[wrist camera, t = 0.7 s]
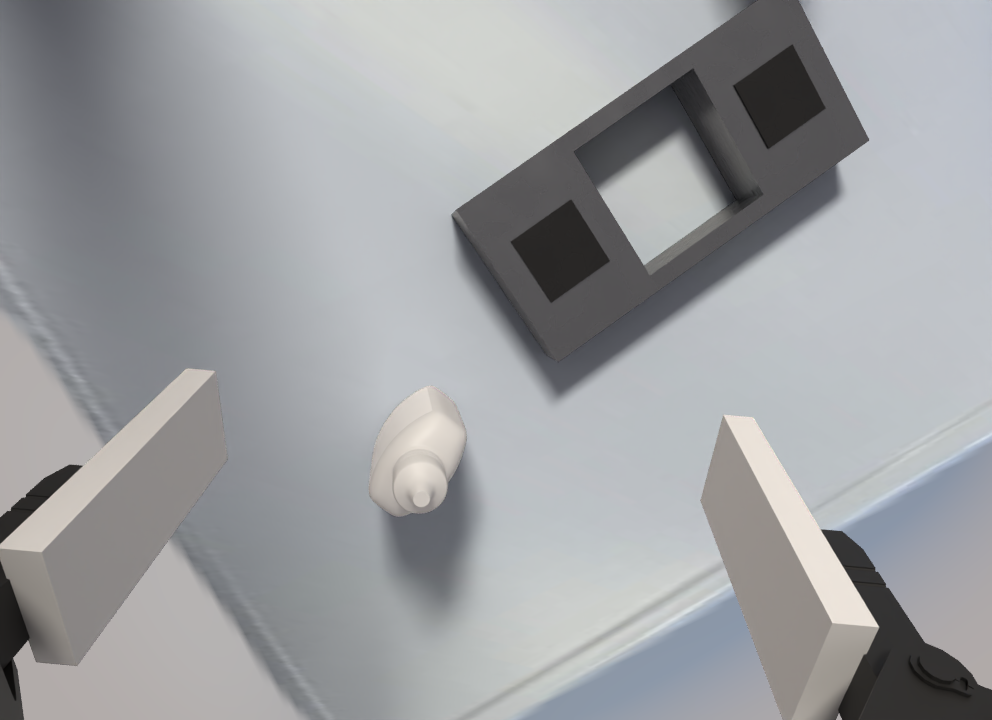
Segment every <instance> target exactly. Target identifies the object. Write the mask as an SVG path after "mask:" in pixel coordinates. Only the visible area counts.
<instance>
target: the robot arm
mask: <svg viewBox="0 0 992 720" xmlns="http://www.w3.org/2000/svg"><path fill="white" fill-rule="evenodd" d="M227 459H228V457H227V450H226V442H225V435H224V428H223V420H222V413H221V405H220V398H219V390H218V383H217V375H216V371H211V370H200V369H188V368H186V369H185V370H184V371H183V372H182V373H181V374H180V375H179V376H178V377H177V378H176V379H175V380H174V381H173V382H172V383H171V384H169V385H168V386H167V387H166V388H165V389H164V390H163V391H162V392H161V393H160V394H159V395H158V396H157V397H156V398H155V399H154V400H152V401H151V402H150V403H149V404H148V405H147V406H146V407H145V408H144V409H143V410H142V411H141V412H140V413H139V414H138V415H137V416H136V417H134V418H133V419H132V420H131V421H130V422H129V423H128V424H127V425H126V426H125V427H124V428H123V429H122V430H121V431H120V432H119V433H118V434H116V435H115V436H114V437H113V438H112V439H111V440H110V441H109V442H108V443H107V444H106V445H105V446H104V447H103V448H102V449H101V450H100V451H98V452H97V453H96V454H95V455H94V456H93V457H92V458H91V459H90V460H89V461H88V462H87V463H86V464H85V465H84V466H79V465H68V466H66V467H64V468H63V469H61V470H59V471H57V472H55V473H53V474H51V475H49V476H47V477H46V478H44V479H43V480H42V481H41V482H39V483H38V484H37V485H36V486H35V487H34V488H33V489H32V490H30V492H28V493H27V494H26V497H25V498H21V499H20V500H19V501H18V502H17V503H16V504H15V505H14V506H13V507H12V508H11V511H7V512H6V513H5V514H4V515H3V516H1V517H0V720H24V717H23V709H22V701H21V693H20V686H19V679H18V671H17V668H16V665H15V662H14V660H13V657H14V656H15V655H16V654H17V652H18V651H19V650H20V649H21V648H22V647H23V645H24V644H25V643H26V642H27V640H28V641H29V643H30V646H31V649H32V652H33V655H34V658H35V660H36V662H40V663H51V664H62V665H74V666H77V665H78V664H79V663H80V661H81V660H82V658H83V657H84V656H85V654H86V653H87V652H88V650H89V649H90V647H91V646H92V644H93V643H94V642H95V641H96V639H97V638H98V636H99V635H100V634H101V632H102V631H103V629H104V628H105V627H106V625H107V624H108V623H109V621H110V620H111V619H112V617H113V616H114V614H115V613H116V612H117V610H118V609H119V608H120V606H121V605H122V604H123V602H124V600H125V599H126V598H127V597H128V595H129V594H130V593H131V591H132V590H133V588H134V587H135V586H136V584H137V583H138V582H139V580H140V578H141V577H142V576H143V575H144V573H145V572H146V571H147V569H148V568H149V566H150V565H151V564H152V562H153V561H154V560H155V558H156V556H157V555H158V554H159V553H160V551H161V550H162V549H163V547H164V546H165V544H166V543H167V542H168V540H169V539H170V538H171V536H172V535H173V534H174V532H175V531H176V529H177V528H178V527H179V525H180V524H181V523H182V521H183V520H184V518H185V517H186V516H187V514H188V513H189V512H190V510H191V509H192V507H193V506H194V505H195V503H196V502H197V501H198V499H199V498H200V496H201V495H202V494H203V492H204V491H205V490H206V488H207V487H208V485H209V484H210V483H211V481H212V480H213V479H214V477H215V476H216V474H217V473H218V472H219V470H220V469H221V468H222V466H223V465H224V463H225V462H226V461H227ZM700 501H701V503H702V506H703V509H704V511H705V514H706V517H707V519H708V522H709V525H710V527H711V530H712V533H713V535H714V538H715V541H716V543H717V546H718V549H719V551H720V554H721V557H722V559H723V562H724V565H725V567H726V570H727V573H728V575H729V578H730V581H731V583H732V586H733V589H734V591H735V594H736V597H737V599H738V602H739V605H740V607H741V610H742V613H743V615H744V618H745V621H746V623H747V626H748V629H749V631H750V634H751V636H752V639H753V642H754V644H755V647H756V650H757V652H758V655H759V658H760V661H761V663H762V666H763V669H764V671H765V674H766V676H767V679H768V682H769V684H770V687H771V690H772V692H773V695H774V698H775V700H776V703H777V706H778V708H779V711H780V714H781V716H782V719H783V720H836V718H837V716H838V714H839V713H840V716H841V718H842V720H992V690H991V689H988V688H985V687H982V686H980V685H978V684H977V682H976V681H975V679H974V677H973V675H972V674H971V673H970V672H969V671H968V670H967V669H966V668H965V667H964V666H963V665H962V664H961V663H960V662H959V661H958V660H956V659H955V658H953V657H952V656H950V655H949V654H947V653H946V652H944V651H943V650H941V649H938V648H936V647H933V646H931V645H929V644H926V643H925V642H924V641H923V639H922V638H921V636H920V635H919V633H918V632H917V631H916V629H915V627H914V626H913V624H912V623H911V621H910V620H909V618H908V617H907V615H906V614H905V612H904V611H903V609H902V608H901V606H900V605H899V603H898V602H897V600H896V599H895V597H894V595H893V594H892V593H891V591H890V589H889V588H886V583H885V582H884V580H883V579H882V577H881V576H880V574H879V573H878V572H876V571H875V567H874V565H873V564H872V562H871V561H870V559H869V558H868V556H867V555H866V553H865V552H864V550H863V549H862V548H861V547H860V546H859V545H857V544H856V543H855V542H854V541H853V540H852V539H850V538H849V537H848V536H847V535H846V534H845V533H843V532H842V531H833V530H822V529H820V528H819V526H818V525H817V523H816V521H815V520H814V518H813V516H812V515H811V513H810V511H809V510H808V508H807V506H806V505H805V503H804V501H803V500H802V498H801V496H800V495H799V493H798V491H797V490H796V488H795V486H794V485H793V483H792V481H791V480H790V478H789V476H788V475H787V473H786V471H785V470H784V468H783V466H782V465H781V463H780V461H779V460H778V458H777V456H776V455H775V453H774V451H773V450H772V448H771V446H770V445H769V443H768V441H767V440H766V438H765V436H764V435H763V433H762V431H761V430H760V428H759V426H758V425H757V423H756V421H755V420H754V418H753V417H742V416H730V415H723V418H722V422H721V425H720V429H719V433H718V437H717V440H716V444H715V448H714V452H713V455H712V459H711V463H710V467H709V470H708V474H707V478H706V482H705V485H704V489H703V493H702V497H701V500H700Z"/></svg>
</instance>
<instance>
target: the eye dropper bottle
mask: <svg viewBox="0 0 992 720" xmlns="http://www.w3.org/2000/svg"><path fill="white" fill-rule="evenodd" d="M466 440H467V434H466V429H465V426H464V423H463V421H462V418H461V416H460V413H459V411H458V409H457V406H456V404H455V403H454V401H453V400H452V399H450V398H449V397H448V396H447V395H445V394H444V393H443V392H441V391H440V390H439V389H437V388H436V387H433V386H426V387H424V388H422V389H420V390H418V391H416V392H415V393H413V394H411V395H410V396H409V397H407V398H406V399H405V400H404V401H402V402H401V403H400V404H399V405H398V406H397V407H396V408H395V409H394V410H393V412H392V413H391V414H390V415H389V417H388V418H387V420H386V421H385V423H384V425H383V426H382V428H381V430H380V432H379V435H378V437H377V440H376V443H375V446H374V450H373V456H372V463H371V470H370V478H369V495H370V498H371V499H372V500H373V502H375V503H376V504H377V505H378V506H380V507H381V508H382V509H384V510H385V511H387V512H388V513H390V514H391V515H393V516H396V517H402V516H406V515H408V514H410V513H416V514H418V513H419V514H421V513H422V514H423V513H426V512H429V511H430V512H431V511H432V510H434V509H436V507H438V506H439V505H440V504H441V503H442V501H444V499H445V496H446V493H447V490H448V482H449V481H450V479H451V478H452V476H453V475H454V473H455V471H456V469H457V467H458V465H459V463H460V461H461V458H462V455H463V452H464V449H465V445H466Z"/></svg>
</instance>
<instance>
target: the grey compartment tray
mask: <svg viewBox="0 0 992 720" xmlns="http://www.w3.org/2000/svg"><path fill="white" fill-rule="evenodd" d="M670 84H671V86H672V88H673V89H674V91H675V93H676V95H677V96H678V98H679V100H680V102H681V103H682V105H683V107H684V109H685V110H686V112H687V114H688V116H689V117H690V119H691V121H692V123H693V124H694V126H695V128H696V130H697V131H698V133H699V135H700V137H701V138H702V140H703V142H704V144H705V146H706V147H707V149H708V151H709V153H710V154H711V156H712V158H713V160H714V161H715V163H716V165H717V167H718V168H719V170H720V172H721V174H722V175H723V177H724V179H725V181H726V182H727V184H728V186H729V188H730V189H731V191H732V193H733V195H734V197H735V198H736V201H734V202H733V203H732V204H730V205H729V206H727V207H726V208H725V209H723V210H722V211H720V212H719V213H718V214H716V215H715V216H713V217H712V218H710V219H709V220H708V221H706V222H705V223H703V224H702V225H701V226H699V227H698V228H696V229H695V230H694V231H692V232H691V233H689V234H688V235H687V236H685V237H684V238H682V239H681V240H680V241H678V242H677V243H675V244H674V245H672V246H671V247H670V248H668V249H667V250H665V251H664V252H663V253H661V254H660V255H658V256H657V257H656V258H654V259H653V260H651V261H650V262H649V263H647V264H646V265H643V264H642V262H641V260H640V259H639V257H638V255H637V254H636V252H635V251H634V249H633V247H632V246H631V244H630V242H629V241H628V239H627V238H626V236H625V234H624V233H623V231H622V229H621V228H620V226H619V225H618V223H617V221H616V220H615V218H614V217H613V215H612V213H611V212H610V210H609V208H608V207H607V205H606V204H605V202H604V200H603V199H602V197H601V195H600V194H599V192H598V191H597V189H596V187H595V186H594V184H593V182H592V181H591V179H590V178H589V176H588V174H587V173H586V171H585V170H584V168H583V166H582V165H581V163H580V161H579V160H578V158H577V157H576V155H575V153H574V151H575V150H577V149H578V148H579V147H581V146H582V145H584V144H585V143H587V142H588V141H589V140H591V139H592V138H594V137H595V136H597V135H598V134H599V133H601V132H602V131H604V130H605V129H607V128H608V127H609V126H611V125H612V124H614V123H615V122H617V121H618V120H620V119H621V118H622V117H624V116H625V115H627V114H628V113H630V112H631V111H632V110H634V109H635V108H637V107H638V106H640V105H641V104H642V103H644V102H645V101H647V100H648V99H650V98H651V97H653V96H654V95H655V94H657V93H658V92H660V91H661V90H663V89H664V88H665V87H667V86H668V85H670ZM868 141H869V138H868V136H867V134H866V132H865V130H864V129H863V127H862V125H861V123H860V121H859V119H858V117H857V115H856V113H855V111H854V109H853V107H852V105H851V103H850V101H849V99H848V97H847V95H846V93H845V91H844V89H843V87H842V85H841V83H840V81H839V79H838V77H837V75H836V74H835V72H834V70H833V68H832V66H831V64H830V62H829V60H828V58H827V56H826V54H825V52H824V50H823V48H822V46H821V44H820V42H819V40H818V38H817V36H816V34H815V32H814V30H813V28H812V26H811V24H810V22H809V21H808V19H807V17H806V15H805V13H804V11H803V9H802V7H801V5H800V3H799V1H798V0H757V1H756V2H754V3H753V4H752V5H750V6H749V7H747V8H746V9H744V10H743V11H741V12H740V13H739V14H737V15H736V16H734V17H733V18H731V19H730V20H729V21H727V22H726V23H724V24H723V25H721V26H720V27H718V28H717V29H716V30H714V31H713V32H711V33H710V34H708V35H707V36H706V37H704V38H703V39H701V40H700V41H698V42H697V43H695V44H694V45H693V46H691V47H690V48H688V49H687V50H685V51H684V52H682V53H681V54H680V55H678V56H677V57H675V58H674V59H672V60H671V61H670V62H668V63H667V64H665V65H664V66H662V67H661V68H659V69H658V70H657V71H655V72H654V73H652V74H651V75H649V76H648V77H647V78H645V79H644V80H642V81H641V82H639V83H638V84H636V85H635V86H634V87H632V88H631V89H629V90H628V91H626V92H625V93H624V94H622V95H621V96H619V97H618V98H616V99H615V100H613V101H612V102H611V103H609V104H608V105H606V106H605V107H603V108H602V109H601V110H599V111H598V112H596V113H595V114H593V115H592V116H590V117H589V118H588V119H586V120H585V121H583V122H582V123H580V124H579V125H578V126H576V127H575V128H573V129H572V130H570V131H569V132H567V133H566V134H565V135H563V136H562V137H560V138H559V139H557V140H556V141H555V142H553V143H552V144H550V145H549V146H547V147H546V148H544V149H543V150H542V151H540V152H539V153H537V154H536V155H534V156H533V157H532V158H530V159H529V160H527V161H526V162H524V163H523V164H521V165H520V166H519V167H517V168H516V169H514V170H513V171H511V172H510V173H508V174H507V175H506V176H504V177H503V178H501V179H500V180H498V181H497V182H496V183H494V184H493V185H491V186H490V187H488V188H487V189H485V190H484V191H483V192H481V193H480V194H478V195H477V196H475V197H474V198H473V199H471V200H470V201H468V202H467V203H465V204H464V205H462V206H461V207H460V208H458V209H457V210H456V211H455V212H453V213H452V214H451V215H452V216H453V218H454V219H455V221H456V222H457V224H458V225H459V227H460V228H461V230H462V231H463V233H464V234H465V235H466V237H467V238H468V240H469V241H470V243H471V244H472V246H473V247H474V249H475V250H476V252H477V253H478V255H479V256H480V258H481V259H482V261H483V262H484V264H485V265H486V267H487V268H488V269H489V271H490V272H491V274H492V275H493V277H494V278H495V280H496V281H497V283H498V284H499V286H500V287H501V289H502V290H503V292H504V293H505V295H506V296H507V298H508V299H509V301H510V302H511V304H512V305H513V306H514V308H515V309H516V311H517V312H518V314H519V315H520V317H521V318H522V320H523V321H524V323H525V324H526V326H527V327H528V329H529V330H530V332H531V333H532V335H533V336H534V338H535V339H536V340H537V342H538V343H539V345H540V346H541V348H542V349H543V351H544V352H545V354H546V355H547V356H549V357H551V358H552V359H554V360H556V361H557V362H559V361H560V360H562V359H563V358H565V357H566V356H568V355H569V354H570V353H572V352H573V351H575V350H576V349H577V348H579V347H580V346H582V345H583V344H584V343H586V342H587V341H589V340H590V339H591V338H593V337H594V336H596V335H597V334H598V333H600V332H601V331H603V330H604V329H605V328H607V327H608V326H610V325H611V324H612V323H614V322H615V321H617V320H618V319H619V318H621V317H622V316H624V315H625V314H626V313H628V312H629V311H631V310H632V309H633V308H635V307H636V306H638V305H639V304H640V303H642V302H643V301H645V300H646V299H647V298H649V297H650V296H652V295H653V294H654V293H656V292H657V291H659V290H660V289H661V288H663V287H664V286H666V285H667V284H668V283H670V282H671V281H673V280H674V279H676V278H677V277H678V276H680V275H681V274H683V273H684V272H685V271H687V270H688V269H690V268H691V267H692V266H694V265H695V264H697V263H698V262H699V261H701V260H702V259H704V258H705V257H706V256H708V255H709V254H711V253H712V252H713V251H715V250H716V249H718V248H719V247H720V246H722V245H723V244H725V243H726V242H727V241H729V240H730V239H732V238H733V237H734V236H736V235H737V234H739V233H740V232H741V231H743V230H744V229H746V228H747V227H748V226H750V225H751V224H753V223H754V222H755V221H757V220H758V219H760V218H761V217H762V216H764V215H765V214H767V213H768V212H769V211H771V210H772V209H774V208H775V207H776V206H778V205H779V204H781V203H782V202H784V201H785V200H786V199H788V198H789V197H791V196H792V195H793V194H795V193H796V192H798V191H799V190H800V189H802V188H803V187H805V186H806V185H807V184H809V183H810V182H812V181H813V180H814V179H816V178H817V177H819V176H820V175H821V174H823V173H824V172H826V171H827V170H828V169H830V168H831V167H833V166H834V165H835V164H837V163H838V162H840V161H841V160H842V159H844V158H845V157H847V156H848V155H849V154H851V153H852V152H854V151H855V150H856V149H858V148H859V147H861V146H862V145H863V144H865V143H866V142H868Z"/></svg>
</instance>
